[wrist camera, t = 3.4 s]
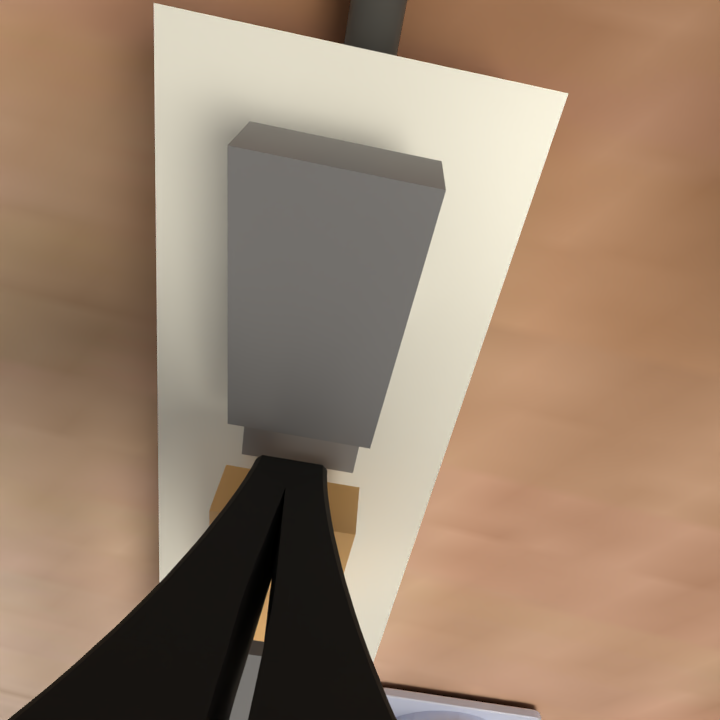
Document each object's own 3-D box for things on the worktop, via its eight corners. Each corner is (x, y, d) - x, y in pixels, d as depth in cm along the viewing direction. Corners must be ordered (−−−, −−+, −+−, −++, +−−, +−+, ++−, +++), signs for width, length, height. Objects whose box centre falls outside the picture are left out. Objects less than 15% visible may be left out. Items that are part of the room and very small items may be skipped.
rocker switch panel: (351, 650, 22) (344, 765, 18) (192, 626, 21) (152, 738, 18) (627, -272, 9) (812, -550, 5) (233, -375, 8) (112, -761, 5)
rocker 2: (373, 408, 11) (370, 448, 10) (242, 384, 11) (227, 423, 10) (441, 161, 8) (445, 190, 7) (249, 120, 8) (227, 145, 7)
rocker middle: (325, 606, 14) (320, 650, 13) (223, 590, 14) (210, 633, 13) (359, 487, 11) (355, 534, 10) (225, 464, 11) (209, 510, 10)
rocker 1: (291, 761, 17) (287, 801, 16) (204, 748, 17) (192, 788, 15) (319, 630, 15) (316, 664, 14) (222, 615, 15) (211, 648, 14)
